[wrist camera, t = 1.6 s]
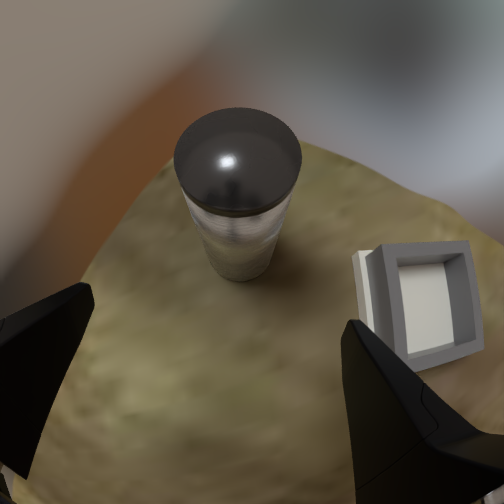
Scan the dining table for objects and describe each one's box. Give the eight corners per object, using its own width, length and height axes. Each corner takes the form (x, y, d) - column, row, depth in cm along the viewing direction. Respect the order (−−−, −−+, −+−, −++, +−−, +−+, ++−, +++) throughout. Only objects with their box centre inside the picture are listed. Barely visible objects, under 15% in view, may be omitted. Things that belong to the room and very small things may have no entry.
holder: (455, 354, 20) (487, 353, 16) (363, 379, 20) (390, 385, 16) (442, 250, 23) (470, 234, 19) (351, 256, 23) (373, 237, 18)
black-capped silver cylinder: (274, 279, 22) (310, 206, 10) (208, 282, 22) (169, 212, 10) (269, 218, 24) (292, 107, 12) (207, 221, 23) (179, 111, 11)
